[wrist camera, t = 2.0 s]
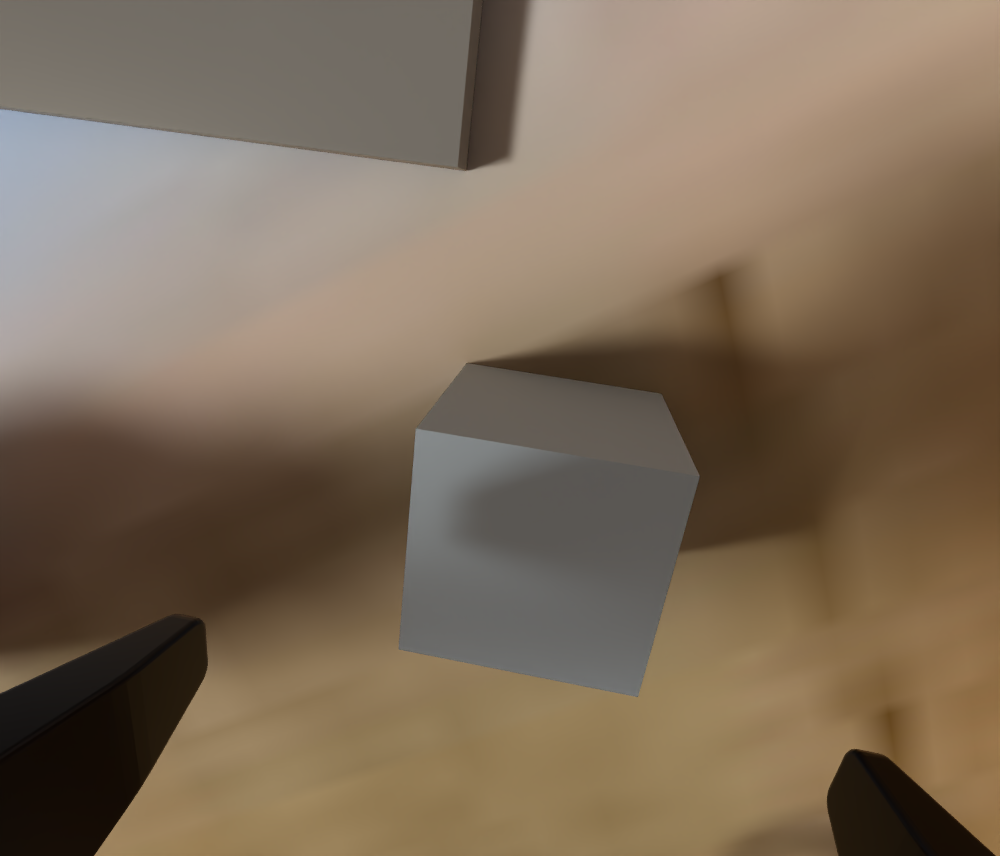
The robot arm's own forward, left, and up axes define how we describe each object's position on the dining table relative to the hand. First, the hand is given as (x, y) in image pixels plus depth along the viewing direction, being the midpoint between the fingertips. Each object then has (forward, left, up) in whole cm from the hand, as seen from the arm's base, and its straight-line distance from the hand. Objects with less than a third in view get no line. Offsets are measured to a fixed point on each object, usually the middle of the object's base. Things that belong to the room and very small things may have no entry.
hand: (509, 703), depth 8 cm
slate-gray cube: (0, 0, -8) cm, 8 cm away
